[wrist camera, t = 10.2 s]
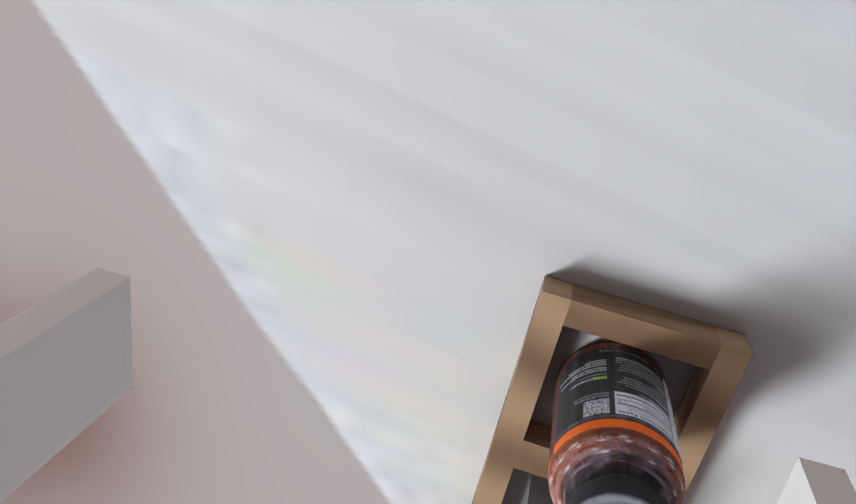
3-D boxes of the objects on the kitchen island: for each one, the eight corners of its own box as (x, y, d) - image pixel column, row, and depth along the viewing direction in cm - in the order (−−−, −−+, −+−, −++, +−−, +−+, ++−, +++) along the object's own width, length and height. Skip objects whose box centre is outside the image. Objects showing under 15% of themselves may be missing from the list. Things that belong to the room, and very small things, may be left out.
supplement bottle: (612, 449, 40) (616, 615, 29) (533, 383, 39) (510, 529, 29) (692, 387, 37) (728, 545, 27) (609, 316, 37) (614, 449, 26)
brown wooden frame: (545, 275, 37) (542, 291, 35) (745, 334, 35) (753, 354, 34) (457, 546, 45) (452, 570, 43) (618, 602, 44) (619, 630, 42)
